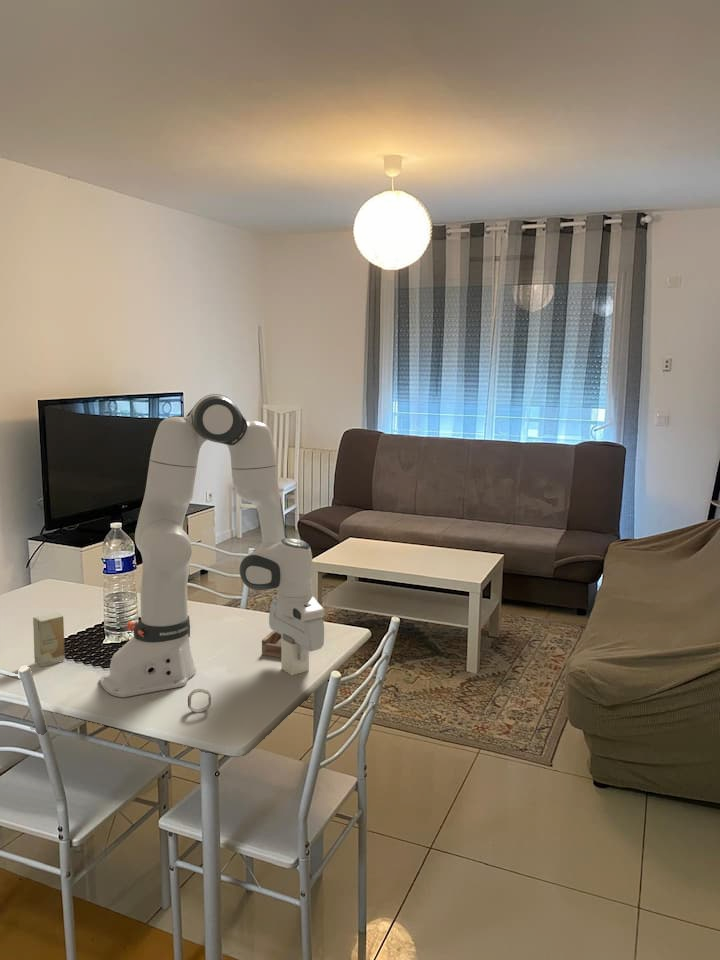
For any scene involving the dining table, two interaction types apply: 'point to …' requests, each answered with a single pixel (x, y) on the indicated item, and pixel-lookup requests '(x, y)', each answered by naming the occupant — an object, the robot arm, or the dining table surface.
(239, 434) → the robot arm
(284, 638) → the cream rectangular box
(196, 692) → the grey ring
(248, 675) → the dining table surface
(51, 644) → the skincare box
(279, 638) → the pusher lane
